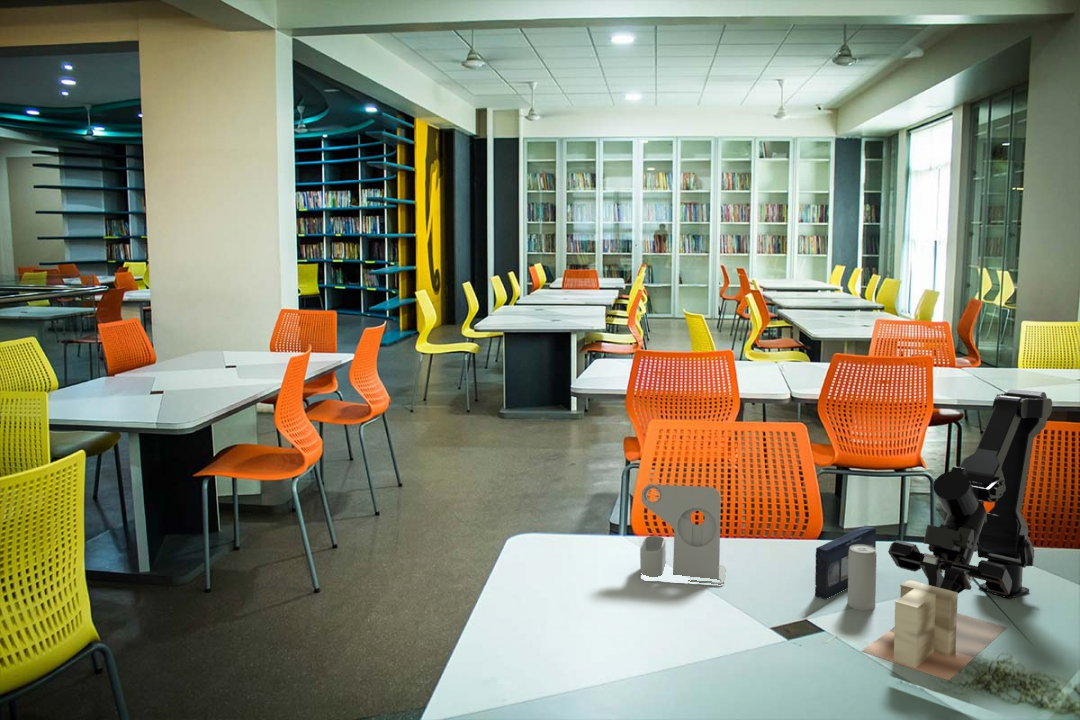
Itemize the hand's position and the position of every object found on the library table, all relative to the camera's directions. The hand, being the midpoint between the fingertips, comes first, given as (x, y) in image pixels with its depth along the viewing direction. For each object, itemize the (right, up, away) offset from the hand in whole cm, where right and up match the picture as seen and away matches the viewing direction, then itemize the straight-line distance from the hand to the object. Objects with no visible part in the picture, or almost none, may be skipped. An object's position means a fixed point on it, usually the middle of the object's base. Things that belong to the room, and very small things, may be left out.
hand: (932, 610), depth 145 cm
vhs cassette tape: (-4, -3, +29) cm, 29 cm away
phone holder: (-36, -3, +36) cm, 51 cm away
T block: (-4, -6, -3) cm, 8 cm away
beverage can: (-6, -5, +17) cm, 18 cm away
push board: (+2, -6, +2) cm, 7 cm away
